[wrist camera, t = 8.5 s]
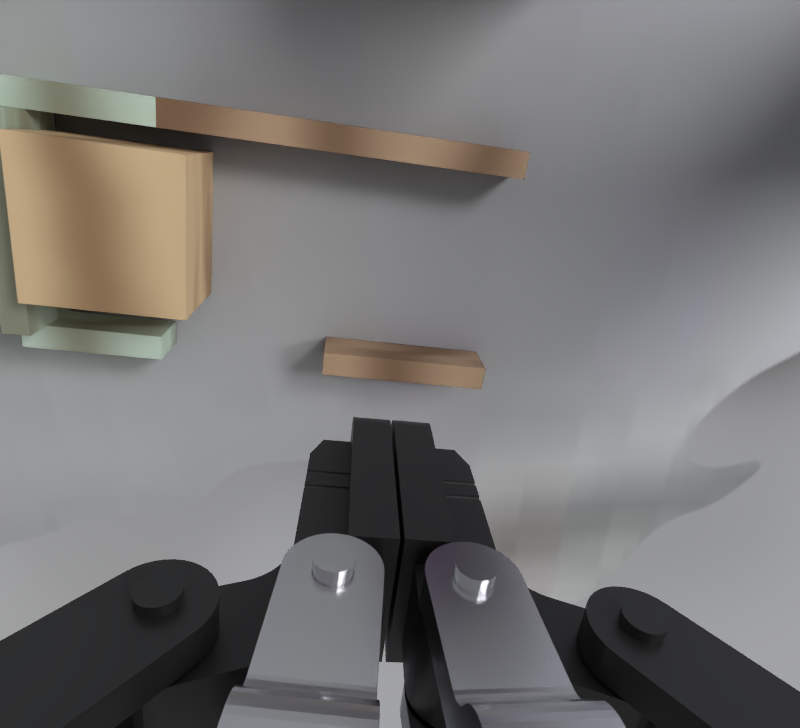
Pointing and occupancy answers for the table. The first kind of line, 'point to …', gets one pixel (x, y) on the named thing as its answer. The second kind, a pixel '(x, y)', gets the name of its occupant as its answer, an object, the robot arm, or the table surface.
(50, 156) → the block
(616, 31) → the table surface
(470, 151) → the channel
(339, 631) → the robot arm
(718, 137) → the table surface
